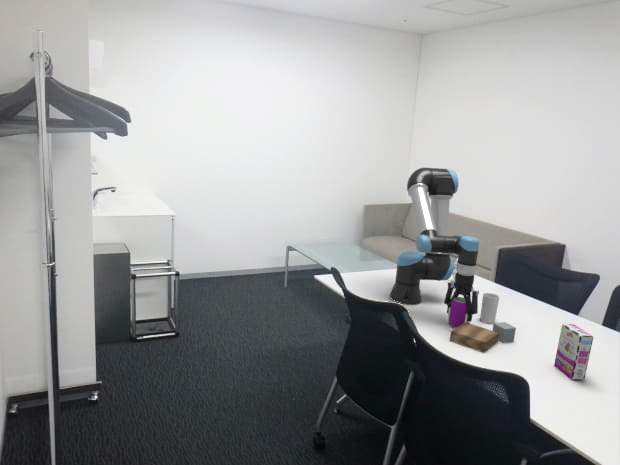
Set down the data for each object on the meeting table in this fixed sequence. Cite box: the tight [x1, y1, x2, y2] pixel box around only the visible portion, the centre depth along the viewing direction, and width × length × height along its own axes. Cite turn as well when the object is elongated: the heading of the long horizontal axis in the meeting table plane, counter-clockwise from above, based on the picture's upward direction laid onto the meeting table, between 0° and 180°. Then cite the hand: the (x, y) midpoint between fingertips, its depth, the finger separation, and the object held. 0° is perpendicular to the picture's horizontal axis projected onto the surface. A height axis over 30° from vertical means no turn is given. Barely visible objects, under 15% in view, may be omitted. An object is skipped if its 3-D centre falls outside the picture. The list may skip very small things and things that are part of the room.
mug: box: [479, 292, 500, 324], centre depth 219 cm, size 10×7×12 cm, turn 178°
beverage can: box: [448, 296, 468, 329], centre depth 208 cm, size 8×8×12 cm
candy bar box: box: [554, 323, 594, 381], centre depth 172 cm, size 11×5×16 cm, turn 5°
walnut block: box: [449, 322, 499, 353], centre depth 194 cm, size 14×14×4 cm
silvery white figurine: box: [447, 257, 458, 289], centre depth 266 cm, size 20×10×18 cm, turn 2°
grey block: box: [492, 321, 517, 344], centre depth 199 cm, size 6×6×6 cm
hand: (457, 324), depth 210 cm, fingers closed on beverage can, 8 cm apart
